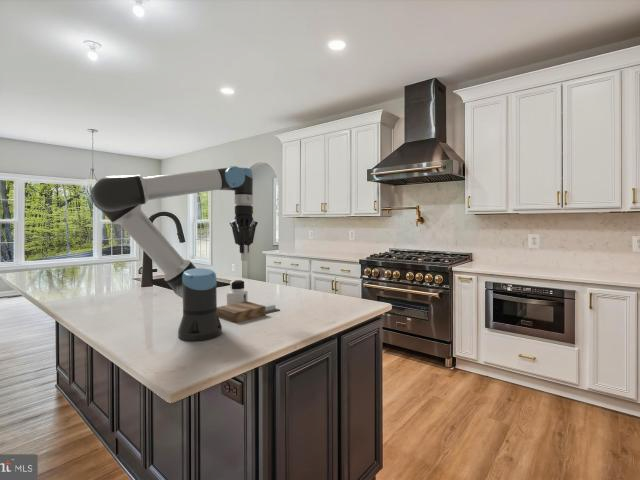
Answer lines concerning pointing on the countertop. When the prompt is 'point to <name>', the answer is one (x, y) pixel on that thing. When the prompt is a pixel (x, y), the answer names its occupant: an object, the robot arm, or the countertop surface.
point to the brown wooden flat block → (240, 311)
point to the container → (237, 292)
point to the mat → (272, 310)
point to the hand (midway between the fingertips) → (244, 260)
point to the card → (268, 306)
